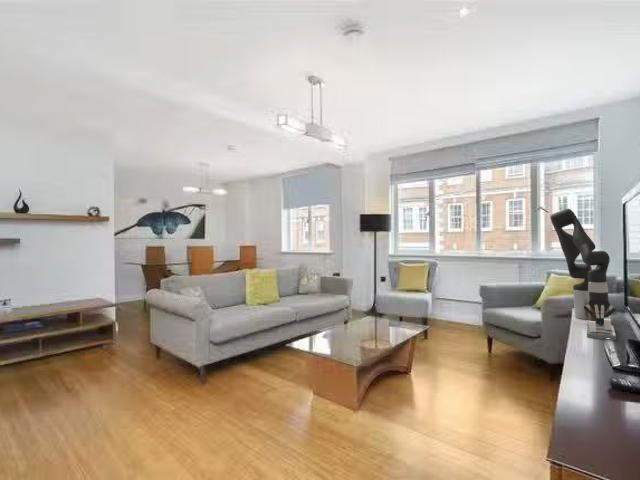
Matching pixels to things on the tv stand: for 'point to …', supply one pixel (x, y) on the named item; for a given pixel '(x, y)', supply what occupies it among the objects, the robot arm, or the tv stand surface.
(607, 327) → the block
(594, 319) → the mug
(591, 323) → the block
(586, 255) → the robot arm
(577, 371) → the tv stand surface
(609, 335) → the breaker panel
